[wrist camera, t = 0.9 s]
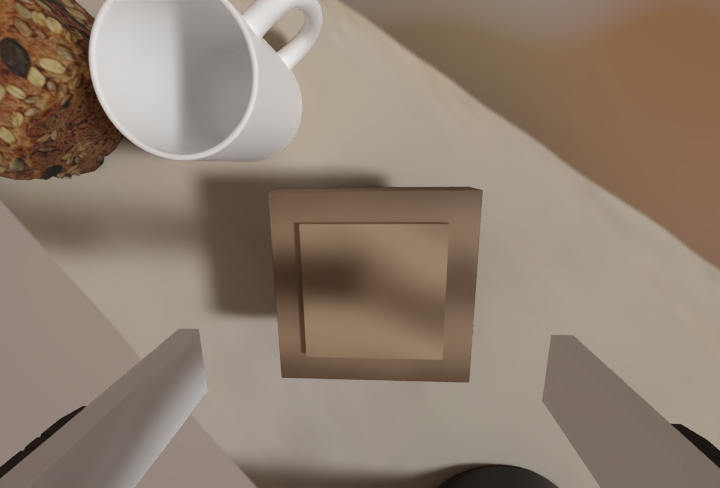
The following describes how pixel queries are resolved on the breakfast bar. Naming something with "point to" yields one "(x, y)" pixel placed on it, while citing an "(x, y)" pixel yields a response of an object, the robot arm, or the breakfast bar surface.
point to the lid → (375, 281)
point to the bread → (49, 93)
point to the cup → (200, 76)
